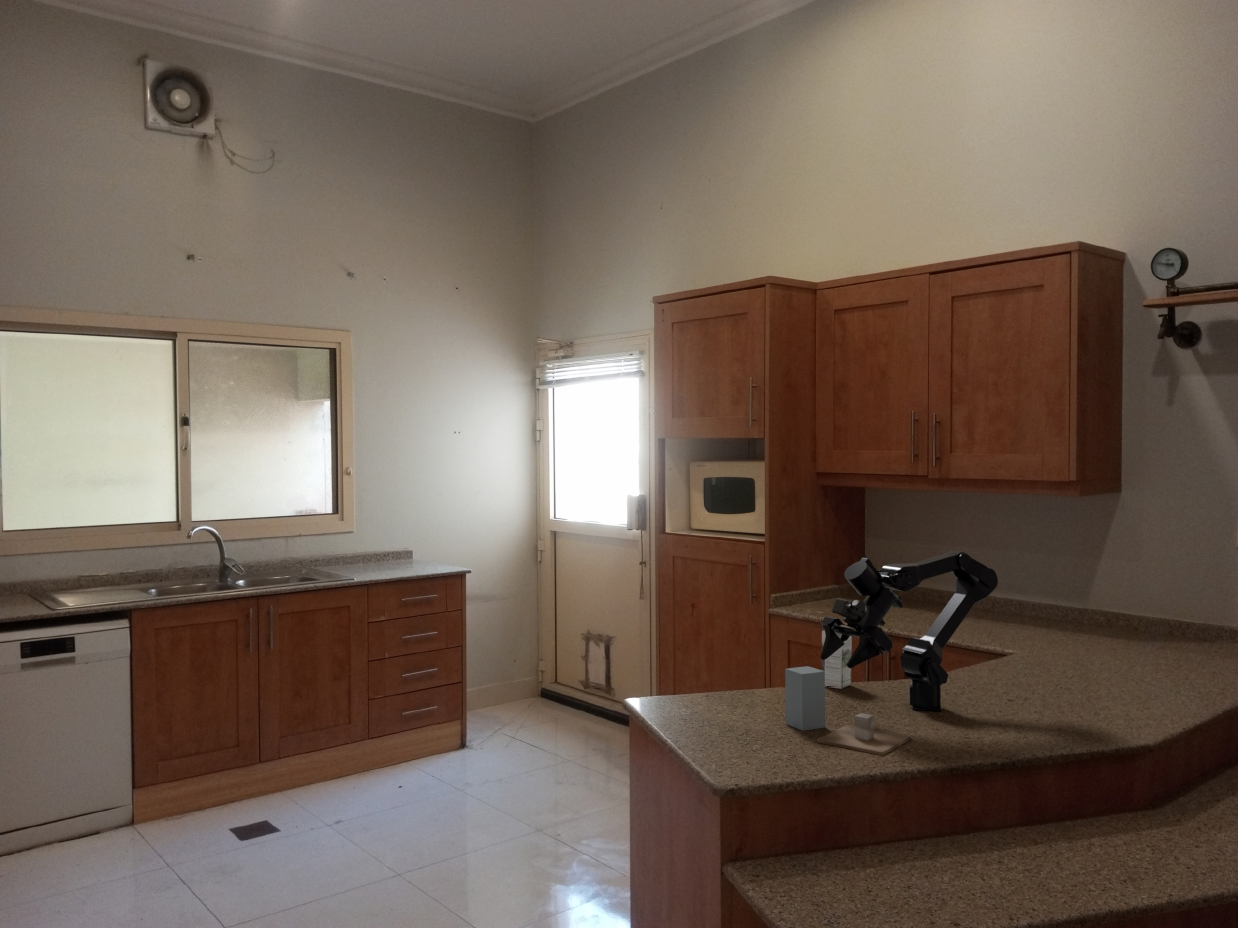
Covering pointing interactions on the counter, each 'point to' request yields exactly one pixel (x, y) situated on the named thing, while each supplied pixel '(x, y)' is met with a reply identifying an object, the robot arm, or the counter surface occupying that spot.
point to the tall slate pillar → (805, 698)
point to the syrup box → (838, 665)
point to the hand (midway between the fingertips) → (834, 662)
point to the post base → (864, 745)
